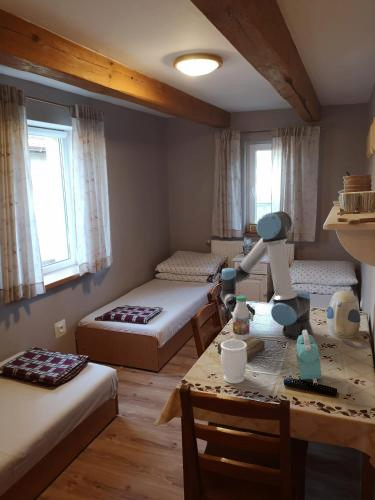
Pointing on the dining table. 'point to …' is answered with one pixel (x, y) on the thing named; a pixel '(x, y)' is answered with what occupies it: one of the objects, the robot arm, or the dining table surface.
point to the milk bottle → (241, 320)
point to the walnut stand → (249, 346)
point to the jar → (233, 360)
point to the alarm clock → (308, 357)
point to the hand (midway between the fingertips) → (243, 318)
